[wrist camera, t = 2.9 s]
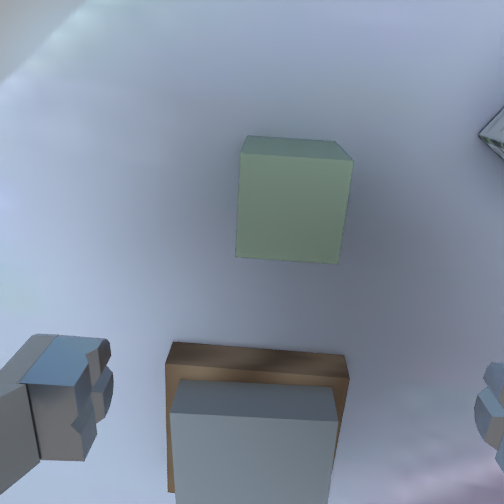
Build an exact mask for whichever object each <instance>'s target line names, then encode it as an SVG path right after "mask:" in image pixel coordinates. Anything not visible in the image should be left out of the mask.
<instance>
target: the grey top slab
mask: <svg viewBox="0 0 504 504" xmlns="http://www.w3.org/2000/svg"><path fill="white" fill-rule="evenodd" d="M170 425H171V440H172V454H173V468H174V482H175V497H176V504H327V503H328V496H329V488H330V481H331V473H332V466H333V458H334V451H335V443H336V436H337V428H338V417H337V412H336V406H335V401H334V395H333V390H332V387H323V386H303V385H283V384H263V383H243V382H223V381H203V380H183V379H180V381H179V384H178V387H177V390H176V394H175V397H174V400H173V404H172V407H171V410H170Z"/></svg>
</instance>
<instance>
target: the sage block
mask: <svg viewBox="0 0 504 504" xmlns="http://www.w3.org/2000/svg"><path fill="white" fill-rule="evenodd" d="M353 163H354V161H353V160H352V158H351V157H350V156H349V155H348V154H347V153H346V152H345V151H344V150H343V149H342V148H341V147H340V146H339V145H338V144H337V143H336V142H335V141H321V140H306V139H291V138H276V137H261V136H247V138H246V140H245V143H244V145H243V148H242V150H241V153H240V170H239V191H238V211H237V232H236V253H235V257H241V258H255V259H269V260H283V261H297V262H311V263H325V264H338V262H339V256H340V249H341V242H342V236H343V229H344V223H345V216H346V209H347V203H348V196H349V189H350V183H351V176H352V170H353Z"/></svg>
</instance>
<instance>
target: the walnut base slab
mask: <svg viewBox="0 0 504 504" xmlns="http://www.w3.org/2000/svg"><path fill="white" fill-rule="evenodd" d="M180 379H183V380H203V381H223V382H243V383H263V384H283V385H303V386H323V387H332V390H333V395H334V401H335V406H336V412H337V417H338V428H337V436H336V443H335V451H334V458H335V453H336V448H337V443H338V437H339V432H340V427H341V422H342V416H343V411H344V406H345V401H346V395H347V390H348V385H349V380H350V377H349V374H348V370H347V366H346V362H345V358H344V355H336V354H323V353H310V352H297V351H285V350H272V349H259V348H247V347H234V346H221V345H209V344H196V343H183V342H173V344H172V346H171V349H170V352H169V354H168V357H167V360H166V363H165V381H166V429H167V478H168V492H170V493H175V482H174V468H173V454H172V440H171V425H170V410H171V407H172V404H173V400H174V397H175V394H176V390H177V387H178V384H179V381H180ZM334 458H333V464H334ZM332 469H333V466H332ZM331 474H332V473H331Z"/></svg>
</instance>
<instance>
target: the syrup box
mask: <svg viewBox="0 0 504 504" xmlns="http://www.w3.org/2000/svg"><path fill="white" fill-rule="evenodd" d="M479 137H480V138H481V139H482V140H483V141H484V142H485V143H486V144H487V145H488V146H489V147H490V148H491V149H493V150H494V151H495V152H496V153H497V154H498V155H499V156H500V157H501V158H502V159H503V160H504V108H503V109H502V111H501V112H500V113H499V114H498V115H497V116H496V117H495V118H494V119H493V120H492V121H491V122H490V123H489V124H488V125H487V126H486V127H485V128H484V129H483V130H482V131H481V132H480V133H479Z"/></svg>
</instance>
